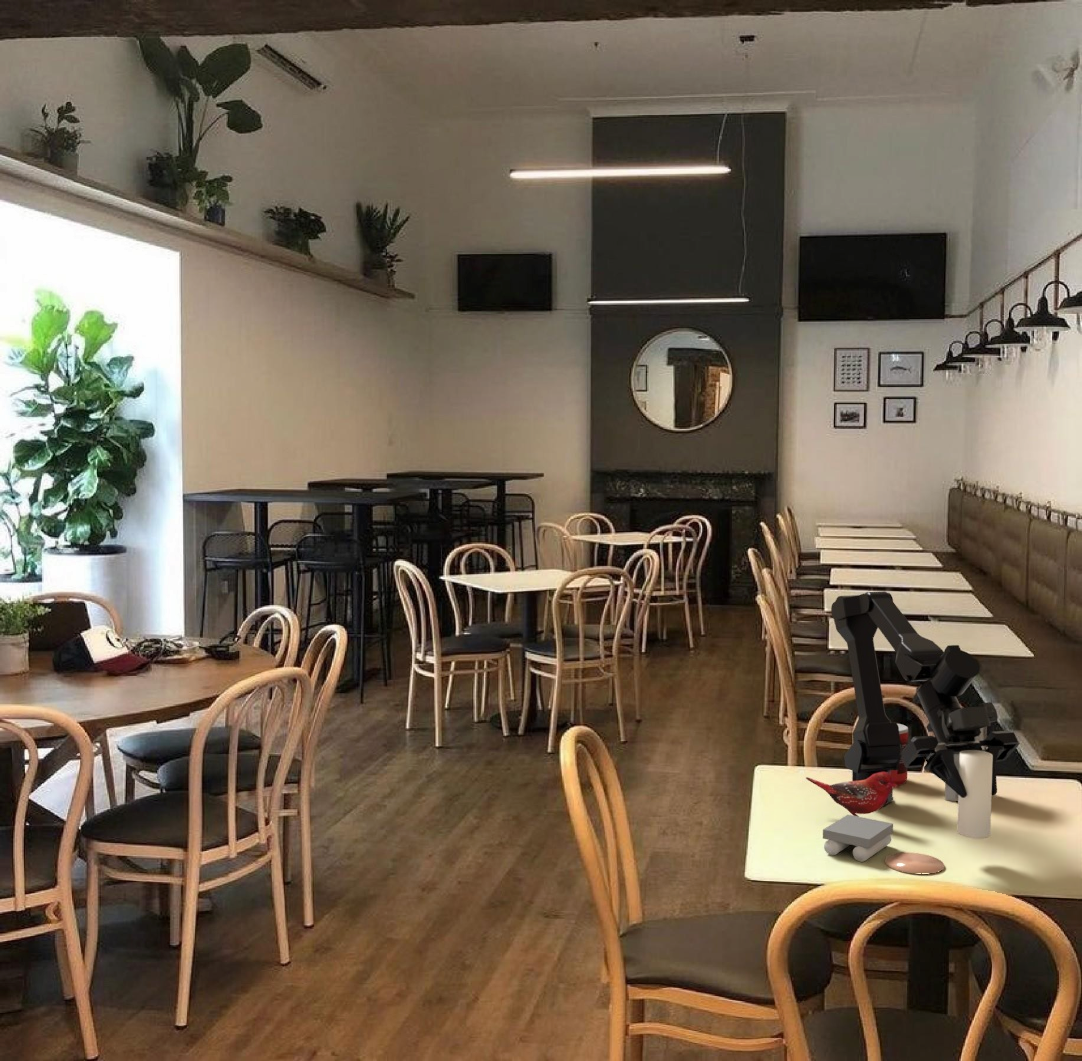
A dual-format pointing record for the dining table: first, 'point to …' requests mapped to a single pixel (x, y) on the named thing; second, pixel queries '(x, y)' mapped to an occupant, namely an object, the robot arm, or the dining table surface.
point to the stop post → (975, 794)
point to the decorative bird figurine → (860, 793)
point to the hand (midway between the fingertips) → (979, 795)
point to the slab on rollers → (857, 836)
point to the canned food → (901, 773)
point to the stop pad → (914, 863)
